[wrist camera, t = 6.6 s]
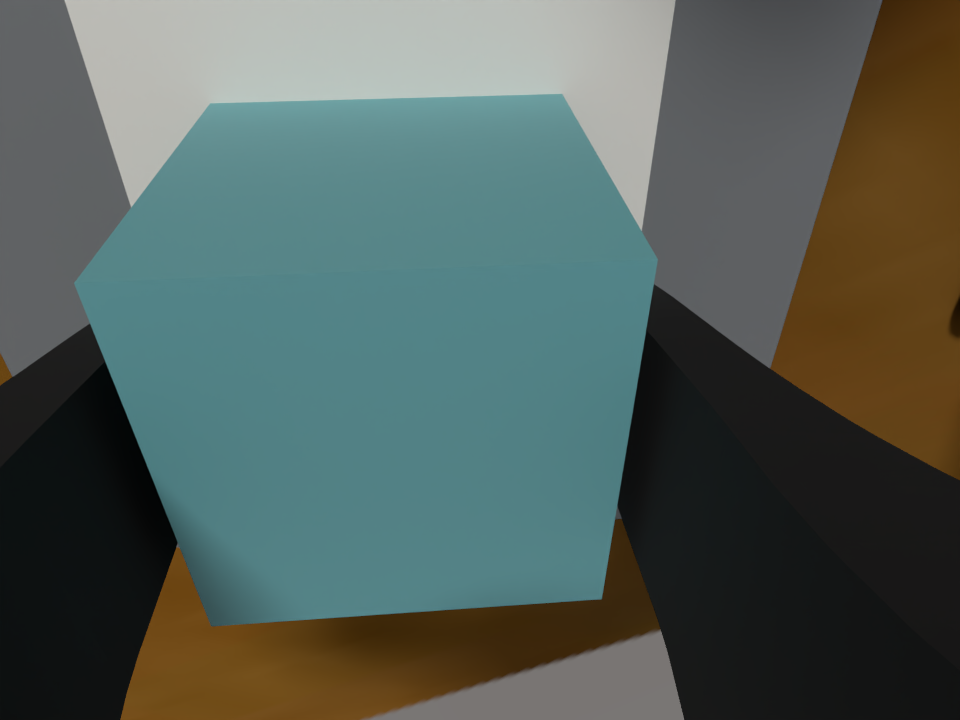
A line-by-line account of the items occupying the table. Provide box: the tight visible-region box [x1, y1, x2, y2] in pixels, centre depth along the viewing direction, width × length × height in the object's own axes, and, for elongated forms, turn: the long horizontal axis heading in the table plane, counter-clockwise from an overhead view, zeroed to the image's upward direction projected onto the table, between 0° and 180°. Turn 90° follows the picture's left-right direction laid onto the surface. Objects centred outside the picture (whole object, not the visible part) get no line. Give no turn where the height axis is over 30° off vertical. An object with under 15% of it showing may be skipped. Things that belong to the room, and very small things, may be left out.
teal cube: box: [74, 94, 658, 626], centre depth 10 cm, size 5×5×5 cm
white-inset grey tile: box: [0, 0, 882, 547], centre depth 13 cm, size 14×14×3 cm
